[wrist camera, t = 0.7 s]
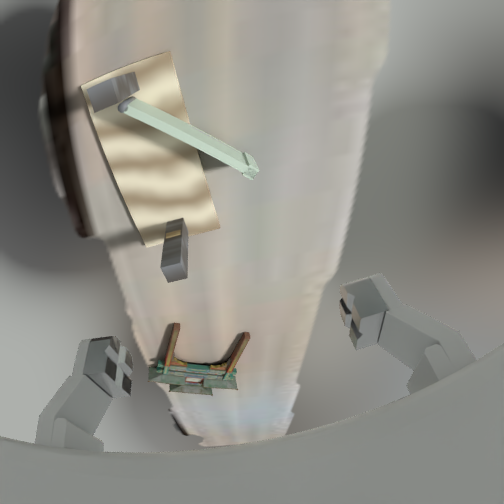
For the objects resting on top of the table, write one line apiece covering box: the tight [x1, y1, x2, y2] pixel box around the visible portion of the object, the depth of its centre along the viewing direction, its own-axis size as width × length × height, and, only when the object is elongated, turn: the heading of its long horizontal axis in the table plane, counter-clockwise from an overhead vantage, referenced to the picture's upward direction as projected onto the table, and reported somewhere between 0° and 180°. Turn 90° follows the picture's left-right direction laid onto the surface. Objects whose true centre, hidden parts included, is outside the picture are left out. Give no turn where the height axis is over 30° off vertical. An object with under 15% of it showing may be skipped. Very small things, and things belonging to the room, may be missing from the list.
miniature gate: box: [148, 323, 250, 396], centre depth 77 cm, size 27×6×30 cm
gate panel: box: [118, 96, 259, 180], centre depth 38 cm, size 21×2×6 cm, turn 56°
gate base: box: [81, 51, 220, 283], centre depth 38 cm, size 31×14×13 cm, turn 11°
